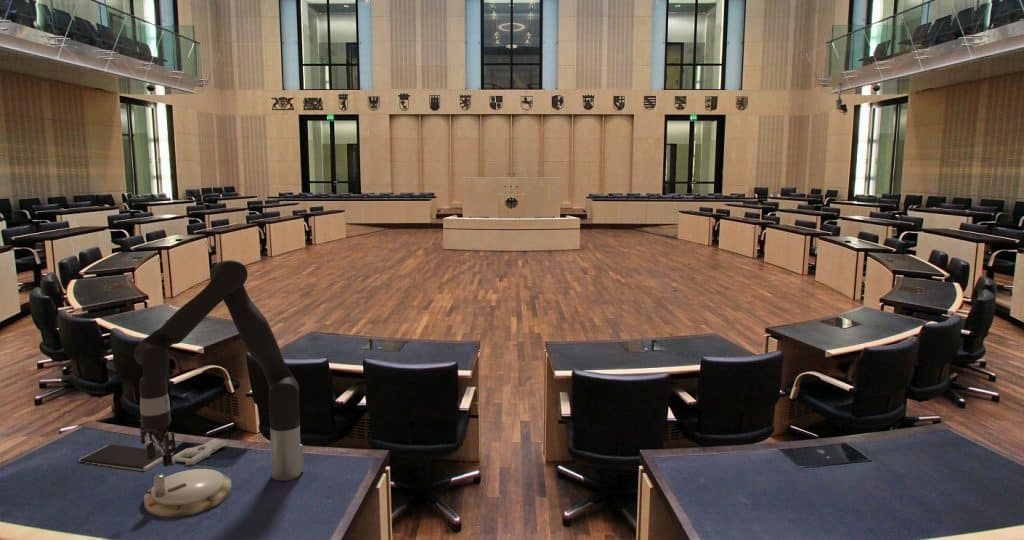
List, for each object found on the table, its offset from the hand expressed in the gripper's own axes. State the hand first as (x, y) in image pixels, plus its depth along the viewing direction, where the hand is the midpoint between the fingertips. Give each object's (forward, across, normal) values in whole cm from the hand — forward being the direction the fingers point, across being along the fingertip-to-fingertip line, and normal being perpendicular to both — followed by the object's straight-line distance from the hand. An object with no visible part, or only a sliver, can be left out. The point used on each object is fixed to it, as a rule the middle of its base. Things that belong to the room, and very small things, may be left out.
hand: (159, 462), depth 184 cm
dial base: (+15, 0, -8) cm, 17 cm away
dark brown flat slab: (+15, +42, -11) cm, 46 cm away
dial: (+12, 0, -8) cm, 15 cm away
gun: (+15, +24, -27) cm, 39 cm away
